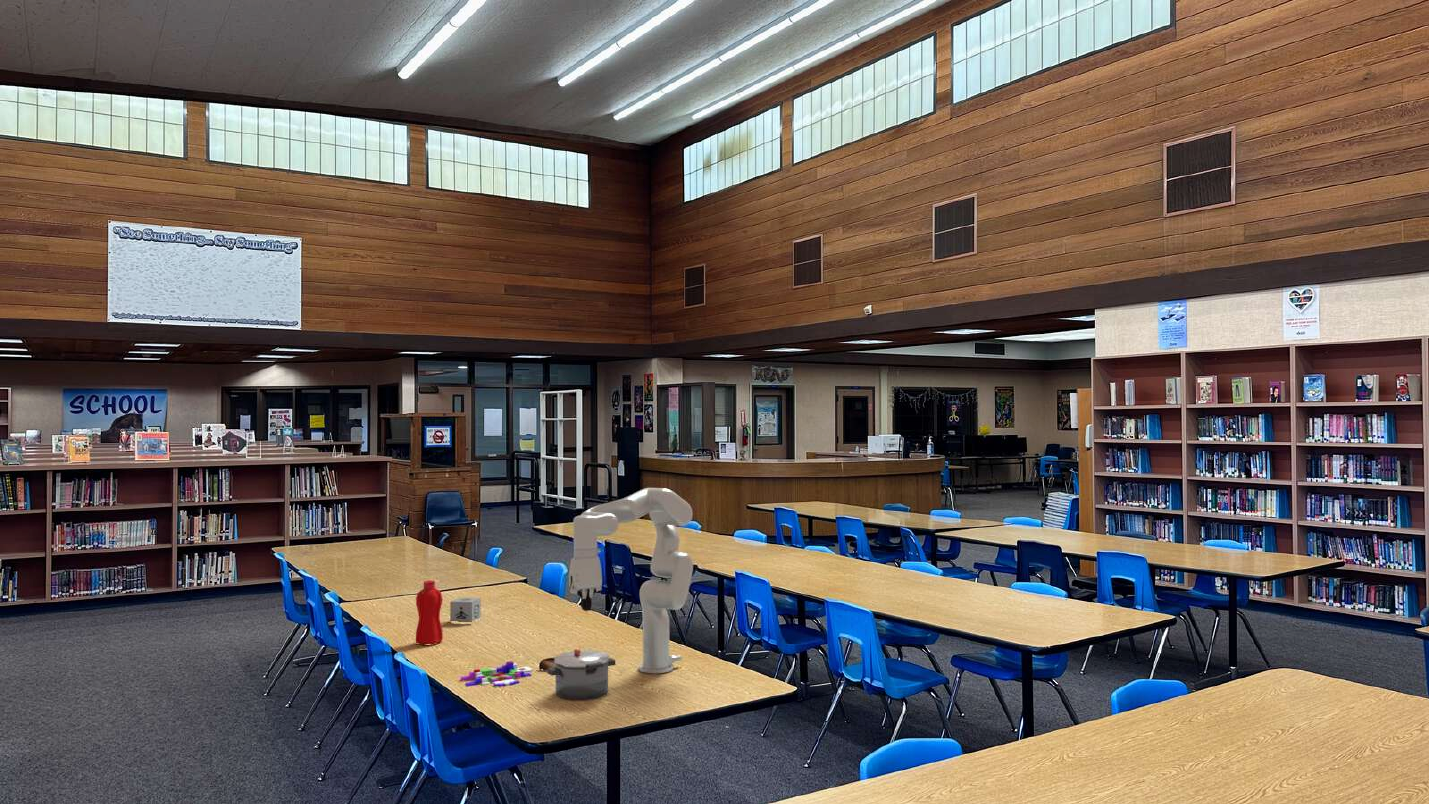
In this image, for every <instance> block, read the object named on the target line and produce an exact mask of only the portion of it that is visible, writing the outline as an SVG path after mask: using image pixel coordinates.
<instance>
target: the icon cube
mask: <svg viewBox="0 0 1429 804" xmlns="http://www.w3.org/2000/svg"><path fill="white" fill-rule="evenodd" d="M449 604H450V606H449V607H450V608H449V609H450V611H449V612H450V613H449V614H450V616H449V617H450V618H449V620H450V621H458V622H472V621H474V620H476V619H479V618H480V617H481V618H482V611H481V610H482V608H481V607H482V606H481V605H482V600H481V597H467V596H466V597H461V596H460V597H457V598H455V599H453V600H451V601H450V603H449Z"/></svg>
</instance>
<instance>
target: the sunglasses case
mask: <svg viewBox="0 0 1429 804" xmlns="http://www.w3.org/2000/svg"><path fill="white" fill-rule="evenodd" d="M555 657H556V656H554V657H548V658H545V659H542V660H540V662H539V665H538V668H539V670H540V669H543V670H547V668H552V667H556V665H555Z"/></svg>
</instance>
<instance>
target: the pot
mask: <svg viewBox="0 0 1429 804" xmlns="http://www.w3.org/2000/svg"><path fill="white" fill-rule="evenodd" d="M555 665H556V664H555ZM612 666H616V659H613V658H611V657H609V661H608V662H607V663H605V664H603V667H598V668H592V669H588V668H567V667H561V666H558V665H556V667H552V668H547V671H546V673H547V674H548V675H550V676H551V677H552V676H553V677H555V697H556V698H558V697H559V699H560V700H564V701H570V702H571V701H573V702H578V701H579V702H581V701H583V702H584V701H591V700H596V699H600V698H602V696H603V697H605V696H606V695H607V694H609V667H612ZM604 695H605V696H604Z"/></svg>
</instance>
